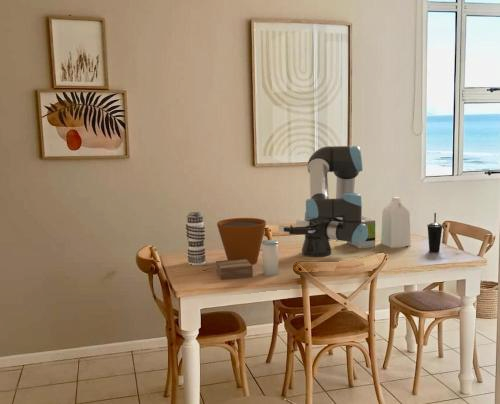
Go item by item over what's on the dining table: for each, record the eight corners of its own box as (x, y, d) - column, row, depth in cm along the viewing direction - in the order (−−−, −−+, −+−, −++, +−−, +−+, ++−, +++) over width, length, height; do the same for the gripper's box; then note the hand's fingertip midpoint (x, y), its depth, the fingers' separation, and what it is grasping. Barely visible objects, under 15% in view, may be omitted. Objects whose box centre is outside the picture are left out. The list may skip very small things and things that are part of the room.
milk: (410, 246, 300) (411, 198, 296) (391, 247, 297) (391, 199, 293) (399, 241, 311) (400, 195, 308) (380, 243, 309) (381, 196, 305)
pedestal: (216, 271, 258) (216, 261, 258) (246, 269, 261) (246, 258, 261) (221, 279, 245) (221, 268, 244) (252, 277, 248) (252, 266, 247)
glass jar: (261, 272, 255) (260, 240, 253) (276, 271, 257) (275, 239, 255) (264, 276, 248) (264, 243, 246) (280, 275, 250) (280, 242, 248)
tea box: (346, 243, 311) (346, 217, 309) (362, 241, 314) (362, 215, 312) (359, 248, 297) (359, 221, 295) (376, 247, 300) (376, 219, 298)
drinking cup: (445, 252, 284) (446, 213, 281) (433, 254, 281) (434, 214, 278) (435, 249, 291) (436, 211, 288) (423, 250, 288) (424, 212, 285)
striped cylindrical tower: (185, 261, 278) (183, 212, 275) (203, 259, 281) (201, 210, 278) (190, 266, 270) (187, 214, 266) (208, 264, 273) (206, 213, 269)
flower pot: (276, 261, 275) (276, 221, 272) (241, 271, 258) (240, 228, 256) (243, 254, 292) (242, 216, 289) (208, 262, 275) (207, 222, 272)
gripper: (315, 244, 221) (271, 239, 234) (345, 234, 240) (303, 229, 253) (314, 226, 220) (270, 221, 233) (345, 217, 239) (303, 213, 252)
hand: (287, 225), depth 243 cm, fingers open, 13 cm apart
